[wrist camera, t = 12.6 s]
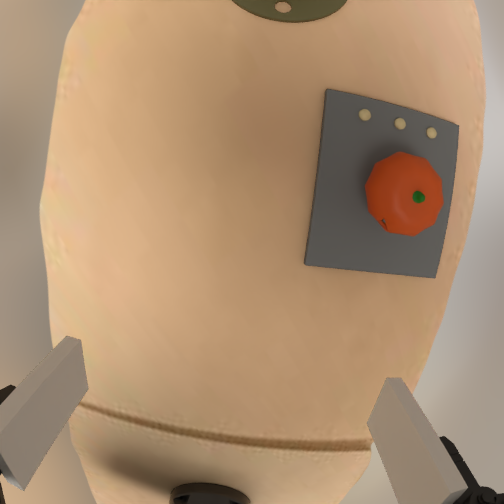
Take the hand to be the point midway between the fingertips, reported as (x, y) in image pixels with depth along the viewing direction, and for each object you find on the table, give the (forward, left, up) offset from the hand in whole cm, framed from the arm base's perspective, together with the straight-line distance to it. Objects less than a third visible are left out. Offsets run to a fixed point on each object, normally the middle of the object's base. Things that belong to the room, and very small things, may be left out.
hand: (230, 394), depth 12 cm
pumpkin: (+8, -14, -21) cm, 27 cm away
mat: (+9, -14, -22) cm, 27 cm away
